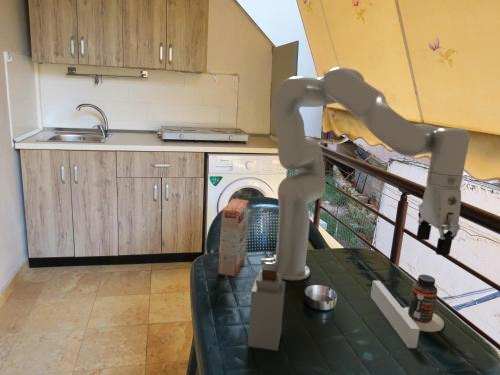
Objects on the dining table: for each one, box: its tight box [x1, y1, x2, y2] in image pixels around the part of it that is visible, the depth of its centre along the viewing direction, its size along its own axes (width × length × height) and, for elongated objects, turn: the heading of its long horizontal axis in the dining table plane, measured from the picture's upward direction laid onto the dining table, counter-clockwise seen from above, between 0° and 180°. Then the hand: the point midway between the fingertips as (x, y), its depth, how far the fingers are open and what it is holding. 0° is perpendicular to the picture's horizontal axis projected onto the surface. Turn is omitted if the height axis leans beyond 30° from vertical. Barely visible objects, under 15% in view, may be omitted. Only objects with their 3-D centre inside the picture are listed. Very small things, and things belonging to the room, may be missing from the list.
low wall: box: [370, 280, 420, 349], centre depth 106 cm, size 2×24×5 cm, turn 5°
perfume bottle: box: [247, 264, 286, 351], centre depth 93 cm, size 7×7×18 cm
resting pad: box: [402, 306, 445, 333], centre depth 107 cm, size 11×11×1 cm
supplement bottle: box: [408, 274, 438, 323], centre depth 106 cm, size 6×6×11 cm
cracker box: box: [217, 198, 250, 277], centre depth 129 cm, size 14×6×21 cm, turn 168°
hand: (432, 246), depth 103 cm, fingers open, 9 cm apart
